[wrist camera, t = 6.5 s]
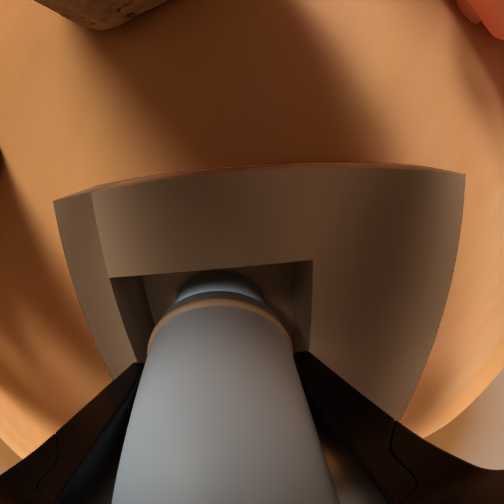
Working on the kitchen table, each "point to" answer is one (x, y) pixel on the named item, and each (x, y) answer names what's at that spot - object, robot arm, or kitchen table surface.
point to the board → (278, 259)
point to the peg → (221, 407)
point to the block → (100, 11)
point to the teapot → (485, 14)
